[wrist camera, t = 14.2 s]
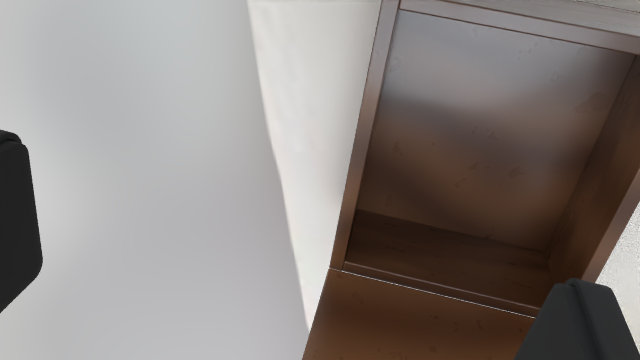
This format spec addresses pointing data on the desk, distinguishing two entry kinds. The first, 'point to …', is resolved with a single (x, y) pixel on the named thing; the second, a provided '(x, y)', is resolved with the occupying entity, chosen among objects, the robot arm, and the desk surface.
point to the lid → (407, 324)
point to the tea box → (493, 148)
